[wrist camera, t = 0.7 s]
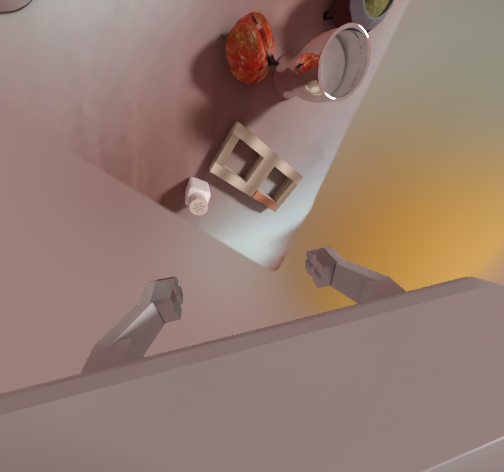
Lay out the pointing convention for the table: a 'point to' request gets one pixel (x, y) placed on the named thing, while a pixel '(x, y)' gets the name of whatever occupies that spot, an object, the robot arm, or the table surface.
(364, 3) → the mate gourd
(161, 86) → the table surface
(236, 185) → the slot rack
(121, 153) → the table surface
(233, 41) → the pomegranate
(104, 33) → the table surface
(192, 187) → the pepper shaker
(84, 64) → the table surface
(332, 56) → the beer glass
